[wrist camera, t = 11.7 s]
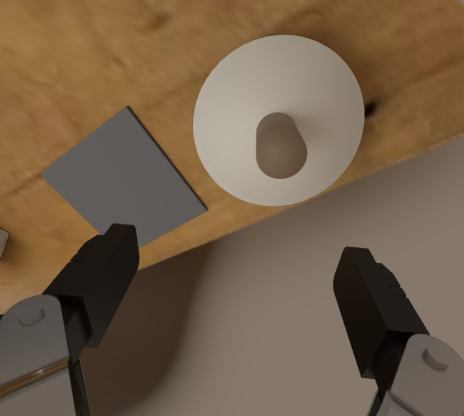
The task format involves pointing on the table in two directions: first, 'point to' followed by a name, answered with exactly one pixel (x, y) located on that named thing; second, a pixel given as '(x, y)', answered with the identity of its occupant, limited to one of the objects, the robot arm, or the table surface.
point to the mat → (124, 181)
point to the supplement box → (3, 240)
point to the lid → (278, 120)
